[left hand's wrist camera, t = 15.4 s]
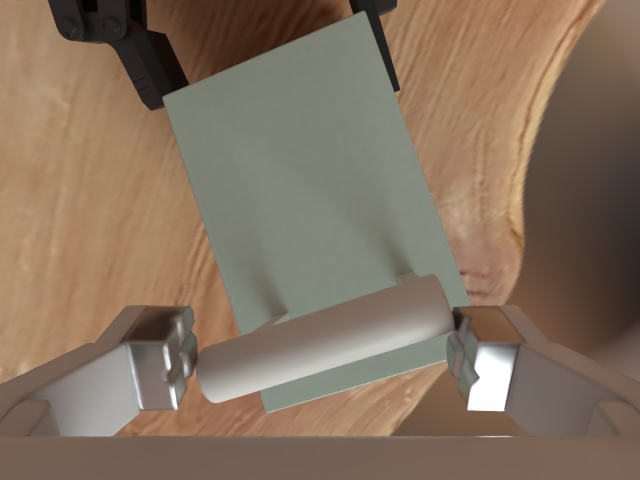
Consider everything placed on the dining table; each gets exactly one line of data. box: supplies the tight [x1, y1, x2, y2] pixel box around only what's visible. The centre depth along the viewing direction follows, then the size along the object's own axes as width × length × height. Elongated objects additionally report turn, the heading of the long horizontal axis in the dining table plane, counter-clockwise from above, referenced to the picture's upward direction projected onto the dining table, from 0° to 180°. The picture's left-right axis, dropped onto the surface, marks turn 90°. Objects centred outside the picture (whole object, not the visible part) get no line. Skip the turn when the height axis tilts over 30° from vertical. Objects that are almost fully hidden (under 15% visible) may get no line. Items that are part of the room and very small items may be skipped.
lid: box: [162, 11, 471, 413], centre depth 14 cm, size 14×9×8 cm, turn 21°
